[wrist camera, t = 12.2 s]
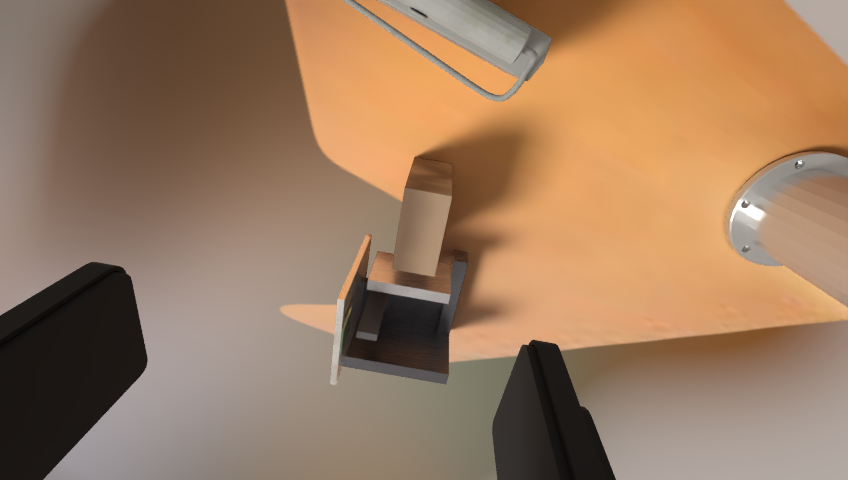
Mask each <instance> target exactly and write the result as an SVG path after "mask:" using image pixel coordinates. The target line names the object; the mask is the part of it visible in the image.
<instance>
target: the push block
mask: <svg viewBox="0 0 848 480" xmlns="http://www.w3.org/2000/svg"><path fill="white" fill-rule="evenodd" d="M451 200H452V164H449V163H444V162H439V161H433V160H428V159H423V158H418V157H415V158H414V161H413V164H412V167H411V170H410V173H409V176H408V179H407V182H406V186H405V190H404V196H403V202H402V209H401V215H400V222H399V228H398V234H397V240H396V247H395V252H394V259H393V265H392V269H394V270H399V271H405V272H410V273H416V274H421V275H427V276H432V277H435V273H436V268H437V263H438V259H439V254H440V250H441V245H442V241H443V236H444V232H445V227H446V223H447V218H448V214H449V209H450V205H451Z"/></svg>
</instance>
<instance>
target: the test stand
mask: <svg viewBox="0 0 848 480" xmlns="http://www.w3.org/2000/svg"><path fill="white" fill-rule="evenodd" d="M370 243H371V235H368V234H366V236H365V239H364V241H363V244H362V245H361V248H360V250H359V252H358V255H357V257H356V259H355V261H354V264H353V266H352V268H351V270H350V272H349V275H348V277H347V279H346V281H345V284H344V286H343V288H342V290H341V293H340V295H339V297H338V302H337V313H336V324H335V335H334V347H333V358H332V369H331V380H330V384H332V385H336V384H337V381H338V378H339V375H340V372H341V369H342V366H345V367H350V368H356V369H361V370H367V371H373V372H379V373H384V374H390V375H396V376H401V377H408V378H413V379H419V380H425V381H430V382H436V383H441V384H446V383H447V379H448V375H449V333H450V329H451V325H452V321H453V318H454V314H455V310H456V306H457V302H458V299H459V295H460V291H461V287H462V283H463V280H464V276H465V272H466V268H467V264H468V260H467V253H466V252H461V251H455V250H454V254H453V258H452V263H451V295H450V299H449V303H448V304H445V303H439V302H433V301H428V300H422V299H417V298H411V297H406V296H400V295H395V294H389V293H388V297H387V301H386V305H385V309H384V313H383V317H382V321H381V325H380V329H379V333H378V337H377V341H373V340H368V339H362V338H356V334H357V329H358V326H359V323H360V320H361V317H362V314H363V311H364V308H365V305H366V302H367V299H368V296H369V293H370V290H367V283H368V278H366V274H367V267H368V266H367V265H368V259H369V251H370Z"/></svg>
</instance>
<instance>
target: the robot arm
mask: <svg viewBox="0 0 848 480" xmlns="http://www.w3.org/2000/svg"><path fill="white" fill-rule="evenodd" d="M725 234H726V237H727V240H728V242H729V244H730V245H731V247H732V249H734V250H735V251H736V252H737V253H738V254H739V255H741V256H742V257H744V258H745V259H747V260H748V261H751V262H753V263H756V264H760V265H765V266H783V265H784V266H785V267H787V268H789V269H790V270H792V271H793V272H795V273H796V274H798V275H799V276H801V277H802V278H804V279H805V280H807V281H808V282H810V283H811V284H813V285H814V286H816V287H817V288H819V289H821V290H822V291H824V292H825V293H827V294H828V295H830V296H831V297H833V298H834V299H836V300H837V301H839V302H840V303H842V304H843V305H845V306H846V307H848V158H847V157H844V156H841V155H837V154H834V153H829V152H824V151H808V152H803V153H797V154H793V155H790V156H787V157H784V158H782V159H780V160H777V161H775V162H773V163H771V164H769V165H768V166H766V167H765V168H763V169H762V170H760V171H759V172H757V173H756V174H755V175H754V176H753V177H751V178H750V179H749V180H748V181H747V182H746V183H745V184H744V185H743V186H742V188H741V189H740V190H739V191H738V192H737V194H736V196H735V197H734V199H733V200H732V202H731V204H730V206H729V209H728V211H727V215H726V220H725ZM146 366H147V354H146V349H145V344H144V339H143V334H142V329H141V325H140V319H139V314H138V309H137V304H136V299H135V294H134V289H133V284H132V280H131V277H130V276H129V275H128V274H126V272H125V270H124V269H123V268H122V267H119V266H115V265H109V264H104V263H98V262H90V263H88V264H86V265H84V266H82V267H81V268H79V269H77V270H76V271H74V272H72V273H71V274H69V275H67V276H66V277H64V278H63V279H61V280H59V281H57V282H56V283H54V284H53V285H51V286H49V287H47V288H46V289H44V290H42V291H41V292H39V293H37V294H36V295H34V296H32V297H31V298H29V299H27V300H26V301H24V302H23V303H21V304H19V305H17V306H16V307H14V308H12V309H11V310H9V311H7V312H6V313H4V314H2V315H1V316H0V480H43V479H44V478H45V477H46V476H47V475H48V474H49V473H50V472H51V471H52V469H53V468H54V467H55V466H56V465H57V464H58V463H59V462H60V461H61V460H62V459H63V458H64V457H65V456H66V455H67V453H68V452H69V451H70V450H71V449H72V448H73V447H74V446H75V445H76V444H77V443H78V442H79V441H80V439H82V438H83V436H84V435H85V434H86V433H87V432H88V431H89V430H90V429H91V428H92V427H93V426H94V425H95V424H96V423H97V422H98V420H99V419H100V418H101V417H102V416H103V415H104V414H105V413H106V412H107V411H108V410H109V409H110V407H112V405H114V403H115V402H116V401H117V400H118V399H119V398H120V397H121V396H122V395H123V394H124V393H125V392H126V390H128V389H129V387H130V386H131V385H132V384H133V383H134V382H135V381H136V380H137V379H138V378H139V377H140V376H141V374H142V373H143V372H144V370H145V368H146ZM492 433H493V443H494V453H495V462H496V471H497V480H616V479H615V476H614V474H613V471H612V468H611V466H610V463H609V461H608V458H607V455H606V453H605V450H604V447H603V445H602V442H601V440H600V437H599V434H598V432H597V429H596V427H595V424H594V422H593V419H592V417H591V415H590V413H589V411H588V410H587V409H586V408H585V407H581V406H580V404H579V401H578V399H577V396H576V393H575V390H574V388H573V385H572V382H571V379H570V377H569V374H568V371H567V368H566V366H565V363H564V360H563V358H562V355H561V352H560V349H559V347H558V345H556V344H554V343H548V342H542V341H537V340H532V341H531V342H530V343H529V345H522V347H521V349H520V351H519V354H518V357H517V359H516V362H515V364H514V367H513V370H512V372H511V375H510V378H509V380H508V383H507V386H506V388H505V391H504V394H503V396H502V399H501V402H500V404H499V407H498V409H497V412H496V415H495V418H494V421H493V431H492Z"/></svg>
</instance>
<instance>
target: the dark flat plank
mask: <svg viewBox="0 0 848 480" xmlns="http://www.w3.org/2000/svg"><path fill="white" fill-rule="evenodd" d="M387 297H388V293H384V292H378V291H372V290H370V293H369V296H368V299H367V302H366V305H365V308H364V311H363V314H362V317H361V320H360V323H359V326H358V329H357V334H356V338H362V339H368V340H373V341H377V337H378V333H379V329H380V325H381V321H382V317H383V313H384V309H385V305H386V301H387Z"/></svg>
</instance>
